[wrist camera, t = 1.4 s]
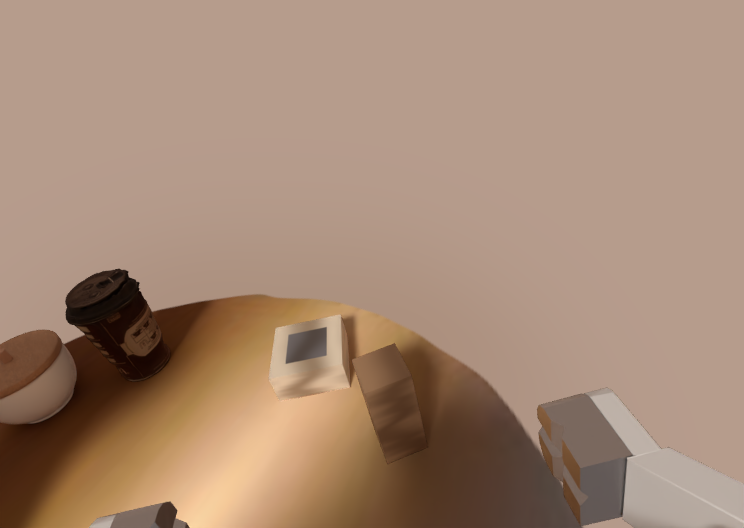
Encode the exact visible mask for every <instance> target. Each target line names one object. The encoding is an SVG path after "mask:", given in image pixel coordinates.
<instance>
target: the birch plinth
mask: <svg viewBox="0 0 744 528" xmlns="http://www.w3.org/2000/svg"><path fill="white" fill-rule="evenodd" d="M269 381H270V383H271V385H272V387H273V389H274V391H275V393H276V395H277V397H278V399H279V401H285V400H290V399H295V398H300V397H305V396H310V395H315V394H320V393H325V392H330V391H335V390H340V389H345V388H350V369H349V349H348V335H347V332H346V329H345V326H344V323H343V320H342V317H341V315H336V316H331V317H326V318H322V319H317V320H312V321H307V322H302V323H298V324H293V325H288V326H283V327H278V328H276V331H275V338H274V345H273V352H272V358H271V365H270V372H269Z"/></svg>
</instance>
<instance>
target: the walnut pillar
mask: <svg viewBox="0 0 744 528" xmlns="http://www.w3.org/2000/svg"><path fill="white" fill-rule="evenodd" d="M352 363H353V366H354V369H355V372H356V375H357V378H358V381H359V384H360V387H361V390H362V393H363V396H364V399H365V402H366V405H367V408H368V411H369V414H370V417H371V420H372V423H373V426H374V429H375V432H376V435H377V437H378V440H379V443H380V445H381V448H382V450H383V453H384V456H385V458H386V461H387V464H389V463H392V462H394V461H396V460H399V459H401V458H403V457H406V456H408V455H411V454H413V453H415V452H418V451H420V450H422V449H425V448H427V447H428V445H427V441H426V437H425V432H424V428H423V423H422V419H421V415H420V410H419V406H418V401H417V397H416V393H415V388H414V384H413V379H412V375H411V373H410V371H409V370H408V368H407V366H406V364H405V362H404V360H403V358H402V356H401V354H400V352H399V351H398V349H397V347H396V345H395V343H394V344H392V345H389V346H386V347H384V348H381V349H379V350H376V351H373V352H371V353H368V354H365V355H363V356H360V357H358V358H355V359H352Z"/></svg>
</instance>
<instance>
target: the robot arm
mask: <svg viewBox="0 0 744 528" xmlns="http://www.w3.org/2000/svg"><path fill="white" fill-rule="evenodd" d="M537 415H538V419H539V421H540V423H541V424H542V428H541V429H540V431H539V440H540V445H541V449H542V452H543V456H544V458H545V460H546V463H547V465H548V467H549V469H550V471H551V473H552V475H553V476H554V477H555V478H557V479H559V480H560V481H562V482H563V489H564V497H565V499H566V501H567V502H568V504H569V506H570V508H571V510H572V512H573V513H574V515H575V517H576V519H577V521H578V522H579V524H580V526H584V525H588V524H592V523H596V522H601V521H605V520H610V519H614V518H619V517H623V520H624V521H626V522H627V523H628V524H630V525H631V526H632V527H634V528H744V484H743V483H741V482H739V481H737V480H735V479H733V478H731V477H729V476H727V475H725V474H723V473H721V472H719V471H717V470H715V469H713V468H711V467H709V466H707V465H704V464H702V463H700V462H698V461H696V460H694V459H692V458H690V457H688V456H686V455H684V454H682V453H680V452H678V451H676V450H674V449H672V448H670V447H667V448H663V449H661V447H660V446H659V445H658V444H657V443H656V442H655V440H654V439H653V438H652V437H651V436H650V435H649V433H648V432H647V431H646V430H645V429H644V427H643V426H642V425H641V424H640V423H639V421H638V420H637V419H636V418H635V417H634V415H633V414H632V413H631V412H630V411H629V410H628V408H627V407H626V406H625V405H624V404H623V402H622V401H621V400H620V399H619V398H618V396H617V395H616V394H615V393H614V392H613V391H612V390H611V389H609V388H604V389H600V390H596V391H592V392H588V393H584V394H578V395H574V396H571V397H567V398H564V399H560V400H557V401H552V402H549V403H546V404H541V405H539V406H538V409H537ZM176 514H177V509H176V508H175V507H174V506H173V504H172V503H171V502H165V503H160V504H156V505H151V506H147V507H143V508H138V509H134V510H129V511H125V512H121V513H117V514H113V515H109V516H105V517H100V518H97V519H96V520H95V521H94V522H93V523H92V524H91V525H90V527H89V528H189V526H188V525H187V523H186V522H183V521H181V520H178V519H176V518H175V517H176Z"/></svg>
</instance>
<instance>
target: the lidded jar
mask: <svg viewBox="0 0 744 528" xmlns="http://www.w3.org/2000/svg"><path fill="white" fill-rule="evenodd" d="M76 378H77V370H76V365H75V362H74V360H73V357H72V356H71V354H70V352H69V351H68V349H67V348H66V347H65V345H64V344H63V343H62V341H61V339H60V338H59V336H58V335H57V334H56V333H55V332H53V331H50V330H36V331H31V332H28V333H25V334H22V335H19V336H17V337H14V338H12V339H10V340H8V341H6V342H4V343H2V344H0V422H1V423H5V424H25V423H28V424H34V423H38V422H42V421H44V420H46V419H48V418H50V417H52V416H53V415H55V414H56V413H58V412H59V411H60V410H61V409H62V408H64V407H65V406H66V404H67V403H68V402H69V401H70V399H71V398H72V396H73V393H74V386H75V383H76Z"/></svg>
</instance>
